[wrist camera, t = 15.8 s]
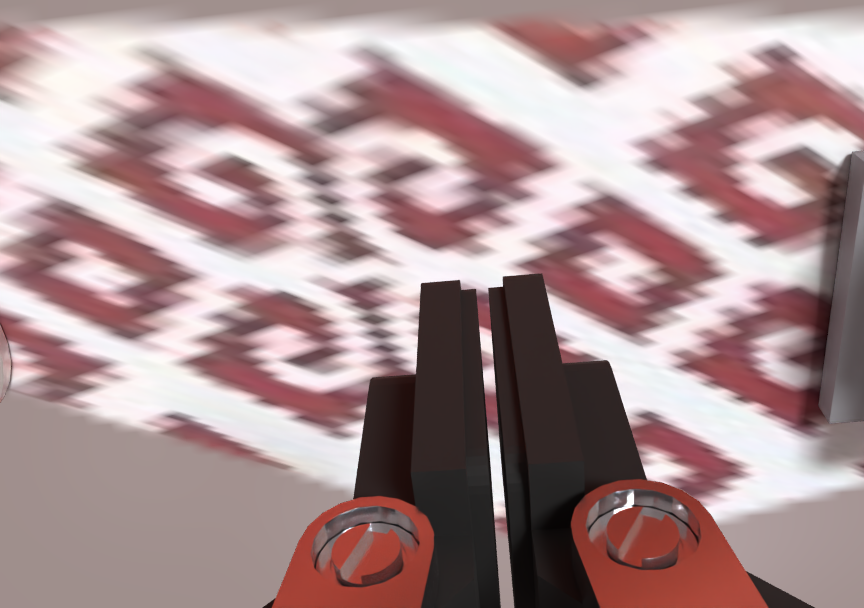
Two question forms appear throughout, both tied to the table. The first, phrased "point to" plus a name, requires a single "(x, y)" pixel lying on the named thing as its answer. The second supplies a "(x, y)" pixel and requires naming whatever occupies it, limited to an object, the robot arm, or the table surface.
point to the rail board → (847, 312)
